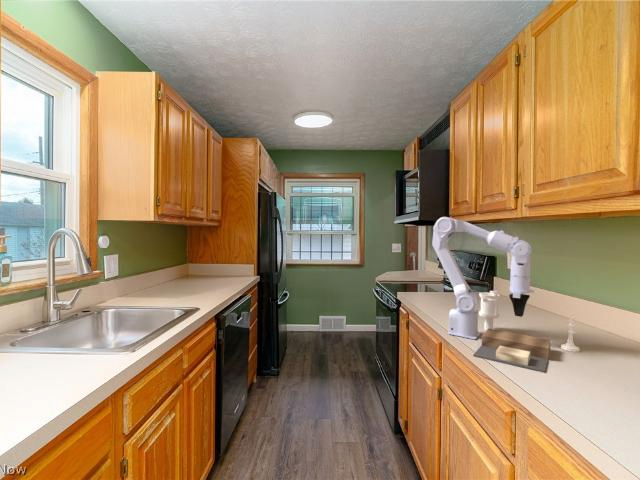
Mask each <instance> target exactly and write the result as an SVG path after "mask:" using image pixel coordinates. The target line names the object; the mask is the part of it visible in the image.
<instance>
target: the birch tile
mask: <svg viewBox="0 0 640 480" xmlns="http://www.w3.org/2000/svg"><path fill="white" fill-rule="evenodd" d="M496 359H501V360H505V361H509V362H514V363H518V364H523V365H527V366H528V363H529V360H530V352H529V351H524V350H519V349H514V348H510V347H505V346H499V347H498V349H497V350H496Z"/></svg>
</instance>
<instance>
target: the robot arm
mask: <svg viewBox="0 0 640 480" xmlns="http://www.w3.org/2000/svg"><path fill="white" fill-rule="evenodd" d="M432 229H433V235H432V241H431V242H432V243H431V245H432V248H433V249H434V251H435V253H436V256H437V258H438V259H439V262H440V263H441V266H442V268H443V270H444V273H445V274H446V276H447V278H448V280H449V282H450V285H451V287H452V289H453V292H454V293H453V294H454V296H455V299H456V301H455V303H456V304H455V305H456V308H451V309H450V310H449V315H448V331H447V334H448V335H450V336H451V335H452V336H456V337H462V338H466V339H471V340H477V339H478V337H480V335H481V332H478V329H479V328H478V327H479V326H478V325H479V324H478V323H479V321H478V320H479V310H478V309H477V307H476V306H477V304H478V302H479V297H478V294H476V293H475V292H474V291H473V290H472V289H471V287H470V285H469V284H468V283H467V282H466V279H465V278H464V275H463V273H462V271H461V270H460V267H459V266H458V263H457V262H456V259H455V257H454V255H453V253H452V251H451V249H450V247H449V245H448V244H449V241H450V239H451V236H453V235H454V233H460V232H461V233H466V234H469V235H472V236H475V237H477V238H480V239H481V240H482V239H483V240H485V241H486V242H487V244H488V246H489V247H491V248H492V247H493V249H498V250H500V251H502V252H505V253H507V254H508V253H511V262H510V276H509V277H510V278H509V280H510V281H509V282H510V283H509V289H508V291H509V292H511V293H509V295H508V296H509V299H510V301H511V304H512V308H513V314H514V316H515V317H520V318H522V317H523V316H524V312H525V309H526V305H527V302H528V301H529V299H530V294H529V293H532V294H533V293H535V290H534V289H531V287H530V286H531V266H532V265H531V254H532V247H531V245H530V243H528V241H525V240H524V239H519V236H515V237H514V236H512V235H509V234H507V233H505V231H504V230H502V229H500V231H499V230H493V231H488V230H486V229H484V228H482V227H479V226H477V225H474V224H473V223H470V222H468V221H466V220H465V221H464V220H459V219H456V218H455V219H454V218H453V217H448V216H442V217H440V218H438V219H437V220H436V221H435V223H434V225H433V228H432Z"/></svg>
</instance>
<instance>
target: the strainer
mask: <svg viewBox="0 0 640 480" xmlns="http://www.w3.org/2000/svg"><path fill="white" fill-rule="evenodd" d="M478 294H479V297H480V310H478V316H480V317H483V318H484V326H483V327H484V328H483V329H484V331H485V332H486V331H487V330H488V329H493V330H494V319H499V318H500V313H499V299H501V294H499V293H498V290H489V292H479V293H478Z"/></svg>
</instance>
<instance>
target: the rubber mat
mask: <svg viewBox="0 0 640 480" xmlns="http://www.w3.org/2000/svg"><path fill="white" fill-rule="evenodd" d="M496 350H497V349H496V348H492V347H487V346H482V344H481V345H480V346H479V347H478V349H477V350H476V351H475V352H474V353H473V355H472V356H473V357H475V358H479V359H485V360H489V361H492V362H497V363H502V364H506V365H510V366H514V367H519V368H523V369H527V370H531V371H536V372H539V371H540V372H541V373H544V374H545V373H546V370H547V365H548V361H549V358H548V359H544V358H539V357H534V356H530V360H529V363H528V366H527V365H523V364H518V363H514V362H509V361H505V360H501V359H496Z"/></svg>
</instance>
